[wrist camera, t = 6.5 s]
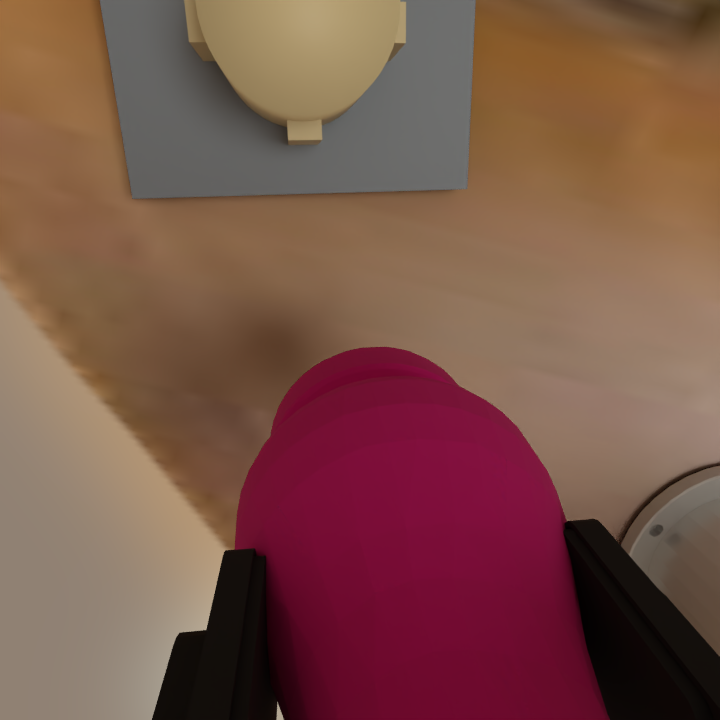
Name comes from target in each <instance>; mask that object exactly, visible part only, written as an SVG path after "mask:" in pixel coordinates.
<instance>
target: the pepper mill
mask: <svg viewBox="0 0 720 720" xmlns="http://www.w3.org/2000/svg"><path fill="white" fill-rule="evenodd" d="M565 522H567V521H566V518H565V515H564V512H563V509H562V506H561V503H560V500H559V497H558V494H557V491H556V489H555V487H554V485H553V482H552V480H551V478H550V476H549V474H548V471H547V470H546V468H545V467H544V465H543V464H542V462H541V461H540V459H539V458H538V457H537V455H536V454H535V452H534V451H533V449H532V448H531V446H530V445H529V443H528V442H527V440H526V439H525V437H524V436H523V434H522V433H521V431H520V430H519V429H518V427H517V426H516V425H515V424H514V423H513V422H512V421H511V420H510V419H509V418H508V417H507V416H506V415H505V414H504V413H503V412H501V411H500V410H499V409H497V408H496V407H494V406H493V405H492V404H490V403H489V402H487V401H486V400H484V399H482V398H480V397H478V396H477V395H475V394H473V393H471V392H469V391H467V390H465V389H463V388H462V387H459V386H458V385H457V383H456V382H455V381H454V380H453V379H452V378H451V377H450V376H449V375H448V374H447V373H446V372H445V371H444V370H443V369H442V368H440V367H439V366H437V365H436V364H434V363H433V362H431V361H429V360H428V359H426V358H424V357H422V356H419V355H417V354H414V353H412V352H410V351H406V350H402V349H397V348H390V347H369V348H358V349H353V350H349V351H346V352H342V353H340V354H338V355H335V356H333V357H331V358H328V359H326V360H324V361H322V362H320V363H318V364H317V365H315V366H314V367H313V368H311V369H310V370H309V371H307V372H306V373H305V374H303V375H302V376H301V377H300V378H299V379H298V380H297V381H296V382H295V384H294V385H293V386H292V387H291V388H290V390H289V391H288V392H287V394H286V395H285V397H284V398H283V400H282V402H281V404H280V405H279V408H278V410H277V413H276V416H275V418H274V421H273V426H272V430H271V437H270V438H269V439H268V440H267V442H266V443H265V444H264V446H263V447H262V449H261V451H260V452H259V454H258V456H257V458H256V459H255V461H254V463H253V465H252V466H251V468H250V470H249V472H248V475H247V478H246V480H245V483H244V485H243V488H242V491H241V495H240V500H239V506H238V511H237V522H236V537H235V550H238V549H249V548H255V549H256V556H263V555H265V556H266V611H267V644H268V657H269V669H270V682H271V686H272V688H273V691H274V693H275V696H276V699H277V701H278V704H279V707H280V710H281V712H282V715H283V718H284V720H610V718H609V716H608V714H607V711H606V708H605V705H604V701H603V698H602V695H601V692H600V688H599V685H598V682H597V679H596V676H595V672H594V669H593V666H592V663H591V659H590V656H589V653H588V650H587V646H586V641H585V636H584V631H583V625H582V619H581V612H580V606H579V601H578V595H577V590H576V585H575V579H574V574H573V569H572V563H571V559H570V555H569V551H568V548H567V544H566V541H565V537H564V533H563V530H564V529H566V528H565Z"/></svg>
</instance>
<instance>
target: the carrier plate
mask: <svg viewBox="0 0 720 720" xmlns="http://www.w3.org/2000/svg"><path fill="white" fill-rule="evenodd" d="M100 5H101V11H102V17H103V23H104V29H105V35H106V41H107V47H108V53H109V59H110V65H111V71H112V77H113V84H114V90H115V96H116V102H117V108H118V114H119V120H120V126H121V132H122V138H123V144H124V150H125V156H126V162H127V169H128V175H129V181H130V187H131V193H132V199H142V198H176V197H211V196H245V195H280V194H314V193H349V192H383V191H418V190H452V189H467V181H468V158H469V136H470V113H471V90H472V68H473V45H474V23H475V0H100Z"/></svg>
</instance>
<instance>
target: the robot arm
mask: <svg viewBox="0 0 720 720" xmlns="http://www.w3.org/2000/svg"><path fill="white" fill-rule="evenodd" d="M565 528H566V529H564V530H563V533H564V537H565V541H566V544H567V548H568V551H569V555H570V559H571V563H572V569H573V574H574V579H575V585H576V590H577V595H578V601H579V606H580V612H581V619H582V625H583V631H584V636H585V641H586V646H587V650H588V653H589V656H590V659H591V663H592V666H593V669H594V672H595V676H596V679H597V682H598V685H599V688H600V692H601V695H602V698H603V701H604V705H605V708H606V711H607V714H608V716H609V718H610V720H720V466H716V467H712V468H707V469H704V470H702V471H699V472H697V473H694V474H692V475H689V476H687V477H685V478H683V479H682V480H680V481H678V482H676V483H675V484H673V485H671V486H669V487H668V488H667V489H666V490H664V491H663V492H662V493H660V494H659V495H658V496H657V497H655V498H654V499H653V500H652V501H651V502H650V503H649V504H648V505H647V506H646V507H645V508H644V509H643V510H642V511H641V512H640V514H639V515H638V516H637V518H636V519H635V521H634V522H633V523H632V525H631V526H630V528H629V530H628V532H627V534H626V536H625V538H624V540H623V542H622V544H621V545H620V544H619V543H618V542H617V541H616V540H615V539H614V537H613V536H612V535H611V534H610V533H609V532H608V531H607V529H606V528H605V527H604V526H603V525H602V524H601V523H600V522H599V521H598V520H595V519H588V520H576V521H567V522H565ZM276 717H277V699H276V696H275V693H274V691H273V688H272V686H271V682H270V669H269V657H268V644H267V611H266V556H265V555H263V556H256V549H255V548H249V549H238V550H226V551H225V552H224V555H223V559H222V563H221V568H220V572H219V576H218V581H217V585H216V590H215V594H214V599H213V603H212V607H211V612H210V616H209V621H208V625H207V630H203V631H194V632H183V633H179V635H178V636H177V637H176V640H175V643H174V645H173V649H172V652H171V655H170V659H169V662H168V666H167V669H166V673H165V676H164V680H163V683H162V687H161V690H160V694H159V697H158V701H157V704H156V707H155V711H154V714H153V718H152V720H276Z"/></svg>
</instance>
